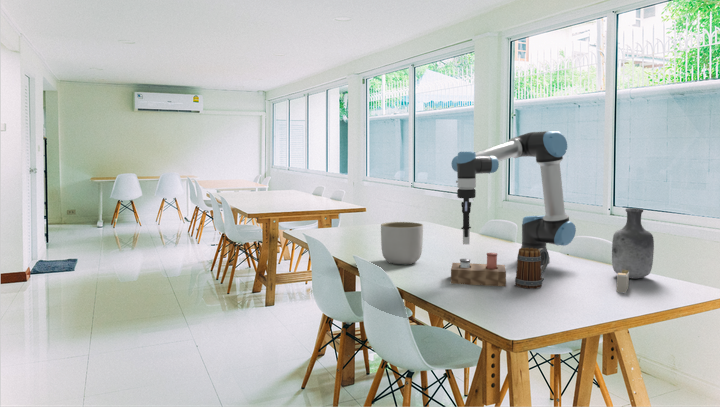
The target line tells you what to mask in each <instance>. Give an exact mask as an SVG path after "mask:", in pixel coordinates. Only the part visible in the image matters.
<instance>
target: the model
mask: <svg viewBox="0 0 720 407" xmlns="http://www.w3.org/2000/svg"><path fill="white" fill-rule="evenodd" d="M616 276H617V277H616V293H621V292H624V293H623V294H626V293H627V291H628V289H629V285H630V278H629V272H628V270H623V269H622V273H618V274H617V273H616Z"/></svg>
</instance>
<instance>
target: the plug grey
mask: <svg viewBox="0 0 720 407" xmlns="http://www.w3.org/2000/svg"><path fill="white" fill-rule="evenodd" d="M459 261H460V262H459V263H460V268H470V263H471V259H470V258H460V259H459Z"/></svg>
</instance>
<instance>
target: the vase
mask: <svg viewBox="0 0 720 407" xmlns="http://www.w3.org/2000/svg"><path fill="white" fill-rule="evenodd" d="M625 212H626V223H625V224H624V226H623V227H622V228H619V229H617V230H616V231H614V233H613V236H612V243H611V265H612V269H613V271H614V273H616V275H617V274H618V273H622V269H623V270H628V272H629V279H632V280H633V279H642V278H645V277H648V276H649V275H650V274H651V271H652V268H653V263H654V262H653V261H654V253H655V252H654V251H655V250H654V249H655V246H654V245H655V244H654V243H655V241H654V236H653V233H652V232H650V231H648V230H646V229H645V228H644V226H643V225H642V213H643V212H644V209H643V208H638V207H637V208H635V207H633V208H631V207H628V208H625Z"/></svg>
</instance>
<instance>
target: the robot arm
mask: <svg viewBox="0 0 720 407" xmlns="http://www.w3.org/2000/svg"><path fill="white" fill-rule="evenodd" d="M567 150H568V141H567V138H566V137H565V135H564V134H562V132H560V131H557V130H556V131H553V130H545V131H544V130H543V131H531V132H527V133H524V134H520V135H518V136H515V137H512V138H509V139H508V140H507V141H506V142H504V143H503V142H502V143H500V144H497V145H494V146H490V147H488V148H487V147H486V148H483V149H480V150H477V151H459V152H458V153H457V155H456V156H454V157H453V158H452V160H451V168H452V170H453V171H454V172H456V174H457V180H456V181H455V183H456V184H457V188H458V189H457V190H456V191H457V192H456V193H457V194H456V197H457V199H458V198H459V199H463V201H461V203H460V204H461V212H462V214H463V215H462V227H461V230H462V244H463V245H470V230H471V229H472V226H470V213H471V208H472V201H470V199H475V198H476V193H477V192H476V186H477V183H476V182H477V179H476V178H477V177H476V176H477V174H479V175H480V174H489V175H490V174H493V173H495V172H497V171H498V170H499V167H500V166H499V163H500V162H503V161H504V160H508V159H511V158H513V159H518V158H521V157H523V158H524V157H535V162H536V164H538V165H539V166H540V175H541V184H542V192H543V202H544V204H543V205H544V210H545V213H544V214H543V215H526V216H524V217H523V218H522V223H521V247H520V248H529V249H530V248H534V249H540V248H543V249H546V250H547V251H548V248H547V244H549V245H556V246H563V247H564V246H568V245H569V244H571V243H572V241H573V240H574V238H575V236H576V231H577V230H576V226H575V224H574V222H572V221H570V217H569V214H567V213H566V211H565V209H566V208H565V202H564V201H565V200H564V191H563V181H562V171H561V162H562V161H563V160H564V157H563V156H565V155H566V154H567ZM540 255H541V265H543V263H544V252H543V251H542V252H541V254H540ZM549 263H550V257H549V260H548V264H549Z"/></svg>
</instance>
